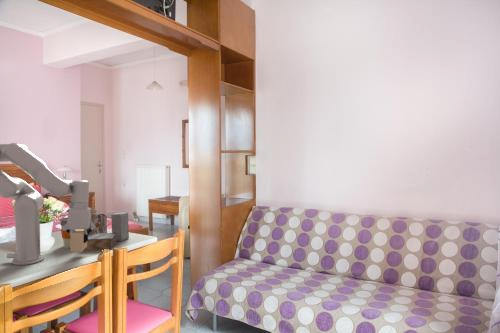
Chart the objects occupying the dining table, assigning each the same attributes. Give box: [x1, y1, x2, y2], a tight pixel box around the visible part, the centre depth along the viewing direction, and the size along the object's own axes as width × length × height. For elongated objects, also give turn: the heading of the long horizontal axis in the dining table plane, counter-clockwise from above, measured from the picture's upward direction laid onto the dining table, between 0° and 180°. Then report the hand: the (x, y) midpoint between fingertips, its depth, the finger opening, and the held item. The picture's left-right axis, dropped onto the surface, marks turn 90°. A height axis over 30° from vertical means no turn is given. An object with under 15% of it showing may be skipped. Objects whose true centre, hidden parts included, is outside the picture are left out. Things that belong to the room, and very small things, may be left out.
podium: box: [82, 232, 117, 252], centre depth 182 cm, size 15×13×6 cm
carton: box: [69, 229, 87, 253], centre depth 164 cm, size 10×5×9 cm, turn 12°
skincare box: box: [110, 212, 130, 242], centre depth 198 cm, size 8×7×16 cm
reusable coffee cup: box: [60, 216, 76, 249], centre depth 185 cm, size 13×13×15 cm
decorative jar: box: [88, 208, 108, 234], centre depth 198 cm, size 12×12×18 cm
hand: (79, 242), depth 164 cm, fingers closed on carton, 5 cm apart
